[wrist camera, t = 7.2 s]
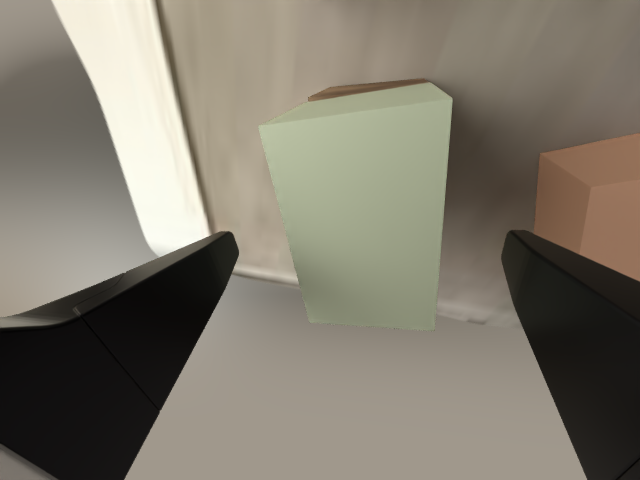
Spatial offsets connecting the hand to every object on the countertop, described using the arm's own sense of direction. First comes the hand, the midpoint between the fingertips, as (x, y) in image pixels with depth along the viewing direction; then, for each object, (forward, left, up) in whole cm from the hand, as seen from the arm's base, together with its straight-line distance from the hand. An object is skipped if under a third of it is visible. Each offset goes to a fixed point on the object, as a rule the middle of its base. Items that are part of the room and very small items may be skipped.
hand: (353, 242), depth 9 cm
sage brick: (0, 0, -5) cm, 5 cm away
